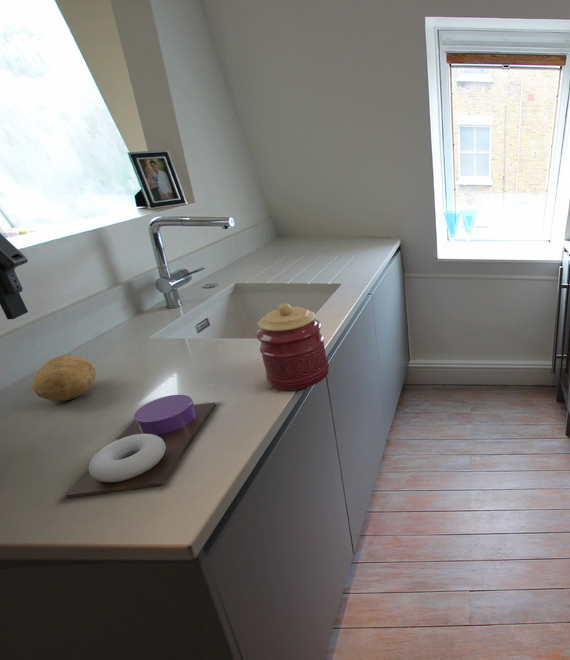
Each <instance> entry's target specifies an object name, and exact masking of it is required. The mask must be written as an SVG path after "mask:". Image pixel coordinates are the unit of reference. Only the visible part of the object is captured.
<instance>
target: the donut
mask: <svg viewBox="0 0 570 660" xmlns="http://www.w3.org/2000/svg"><path fill="white" fill-rule="evenodd" d="M165 449H166V445H165V443H164V441H163V440H162V438H160V437H158V436H156V435H153V434H136V435H132V436H128V437H124V438H122V439H119V440H117V439H115V440H114V441H112V442H110V443H108V444H107V445H105V446H103V447H101V448H100V449H99V450H98V451H97V452H96V453H95V454H94V455H93V456H92V457H91V459H90V461H89V463H88V470H89V472H90V475H91V476H92V477H93V478H95V479H97V480H98V481H102V482H119V481H123V480H127V479H131V478H133V477H136V476H138V475H141V474H143V473H144V472H146V471H148V470H149V469H151V468H152V467H154V466H155V465H156V464H157V463H158V462H159V461H160V460H161V458H162V457H163V456H164V453H165ZM129 456H130V457H129Z"/></svg>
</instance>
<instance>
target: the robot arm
mask: <svg viewBox="0 0 570 660" xmlns="http://www.w3.org/2000/svg"><path fill="white" fill-rule="evenodd" d="M27 263H28V258H27V256H25V255H24V254H23V253H22V252H21V251H20V250H19V249H18V248H17V247H16V246H15V245H13V243H12V242H10V241H9V240H8V239H7V238H6V237H5V236H4V235H3V234H2V232H0V307H1V310H2V311H3V314H4V316H5V317H6V319H7V320H15V319H18V318H19V317H21V316H23V315H26V314H27V313H29V311H28V307H27V306H26V304H25V302H24V301H23V298H22V296H21V294H20V293H22V292H23V286H22V284H21V281H20V279H19V277H18V275H17V273H16V271H15V270H16V268H17V267H19V266H22V265H25V264H27Z"/></svg>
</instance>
